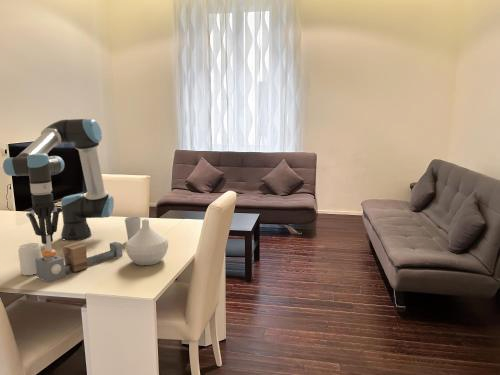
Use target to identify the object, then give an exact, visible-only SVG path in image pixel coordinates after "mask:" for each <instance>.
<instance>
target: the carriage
mask: <svg viewBox="0 0 500 375" xmlns="http://www.w3.org/2000/svg"><path fill="white" fill-rule="evenodd" d="M86 246H87V245H85V244H82V243H79V242H73V243H71V244H68V245H64V246H62V248H63V254H64V256H63V258H64V265H66V264H71V265H72V271H73V272H74V273H76V272H79V271H82V270H86V269H88V268H89V266H88V264H87V258H88V256H87V247H86Z"/></svg>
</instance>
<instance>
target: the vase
mask: <svg viewBox="0 0 500 375" xmlns="http://www.w3.org/2000/svg"><path fill="white" fill-rule="evenodd" d="M124 246H125V252H126V254H127V256H128V258H129V259H130V260H131V261H132V262H133V263H135V264H137V265H138V266H143V265H146V266H152V265H156V264H158V263H160V262H161V261H162V260H163V259H164V257H165V256H166V255H167V252H168V249H169V240H168V239H167V237H166V236H164V235H163V234H161V233H159V232H157V231H156V230H154V229H152V227H151V226H150V220H149V219H148V218H146V219H145V218H143V219H141V227H140V230H139V231H138V232H137V233H136V234H135V235H134V236H133V237H132V238H130V239H129V240H128V239H127V241H126V243H125V245H124Z"/></svg>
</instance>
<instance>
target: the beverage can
mask: <svg viewBox="0 0 500 375" xmlns="http://www.w3.org/2000/svg"><path fill="white" fill-rule="evenodd" d="M41 257H42V250H41V245H40V244H39V243H37V242H30V243H23V244H21V245H19V248H18V259H19V267H20V274H21V275H22V274H23V275H22V276H26V275H31V276H34V275H33V274H36V275H37V270H36V261H35V259H37V258H41Z"/></svg>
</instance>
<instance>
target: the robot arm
mask: <svg viewBox="0 0 500 375" xmlns="http://www.w3.org/2000/svg"><path fill="white" fill-rule="evenodd" d="M102 133H103V132H102V129H101V125H100V124H99V123H98V121H97V120H95V119H93V118H92V119H91V118H88V119H87V118H78V119H73V118H72V119H61V120H58V121H55V122H53V123H51V124H49V125H48V126H47V127H46V126H45V128H44V129H43V130H42V131H41V133H40V136H38V137H37V138H36V139H35V140H34V141H33V142H31V143H30V144H29V145H28V146H27V147H26V148H25V149H23V150H22V151H21V152H20V153H19V154H18V155H16V156H15V157H13V156H12V157H6V158H5V159H4V160H3V163H2V168H3V172H4V173H5V174H6V175H7V176H14V177H15V176H16V177H20V176H22V177H23V176H28V177H29V186H30V187H29V188H30V193H31V197H30V198H31V204H32V207H31V211H29V212H27V213H26V215H25V216H26V217H27V218H28V219H29V221H30V223H31V226H32V228H33V231H34V234H35V235H36V236H39V237H40V238H41V240H40V241H41V244H43V245H44V250H45V251H47V252H50V251H52V249H53V248H52V243H53V240H54V238H53V235H54V233H56V232H57V231H58V222H59V216H60V215H59V214H60V213H62V221H63V222H62V223H63V225H62V229H61V230H62V231H61V234H60V238H62V239H65V240H74V241H79V240H78V239H81V240H85V239H88V238H90V237H91V236H92V230H91V229H90V226H89V224H88V221H87V219H95V218H96V219H100V218H101V219H103V218H110V216H111V215H112V214H113V211H114V207H115V206H114V205H115V202H114V200H115V199H114V197H113V196H112V195H109V191H108V190H106V189H105V185H104V180H103V175H102V169H101V164H100V159H99V155H98V149H97V148H98V147H99V145H100V143H101V141H102V135H103V134H102ZM62 144H73V145H74V149H76V150H78V155H79V160H80V163H81V167H82V168H81V169H82V173H83V178H84V181H85V187H86V191H87V193H85V194H84V193H76V194H70V195H67V196H63V198H61V201H60V202H61V203H60V205H61V206H60V207H61V208H60V207H57V206H55V203H54V194H53V193H52V192H53V187H52V186H53V185H52V176H54V175H58V174H60V173H62V172H63V171H64V169H65V161H64V160H63V158H62V157H60V156H58V155H50V156H49V155H48V154H49V152H50V151H51V150H53V148H56V147H58V146H59V145H62ZM36 216H37V218H36ZM37 219H38V222H37ZM87 237H88V238H87ZM84 238H85V239H84ZM62 239H61V240H62ZM65 240H64V241H65Z"/></svg>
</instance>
